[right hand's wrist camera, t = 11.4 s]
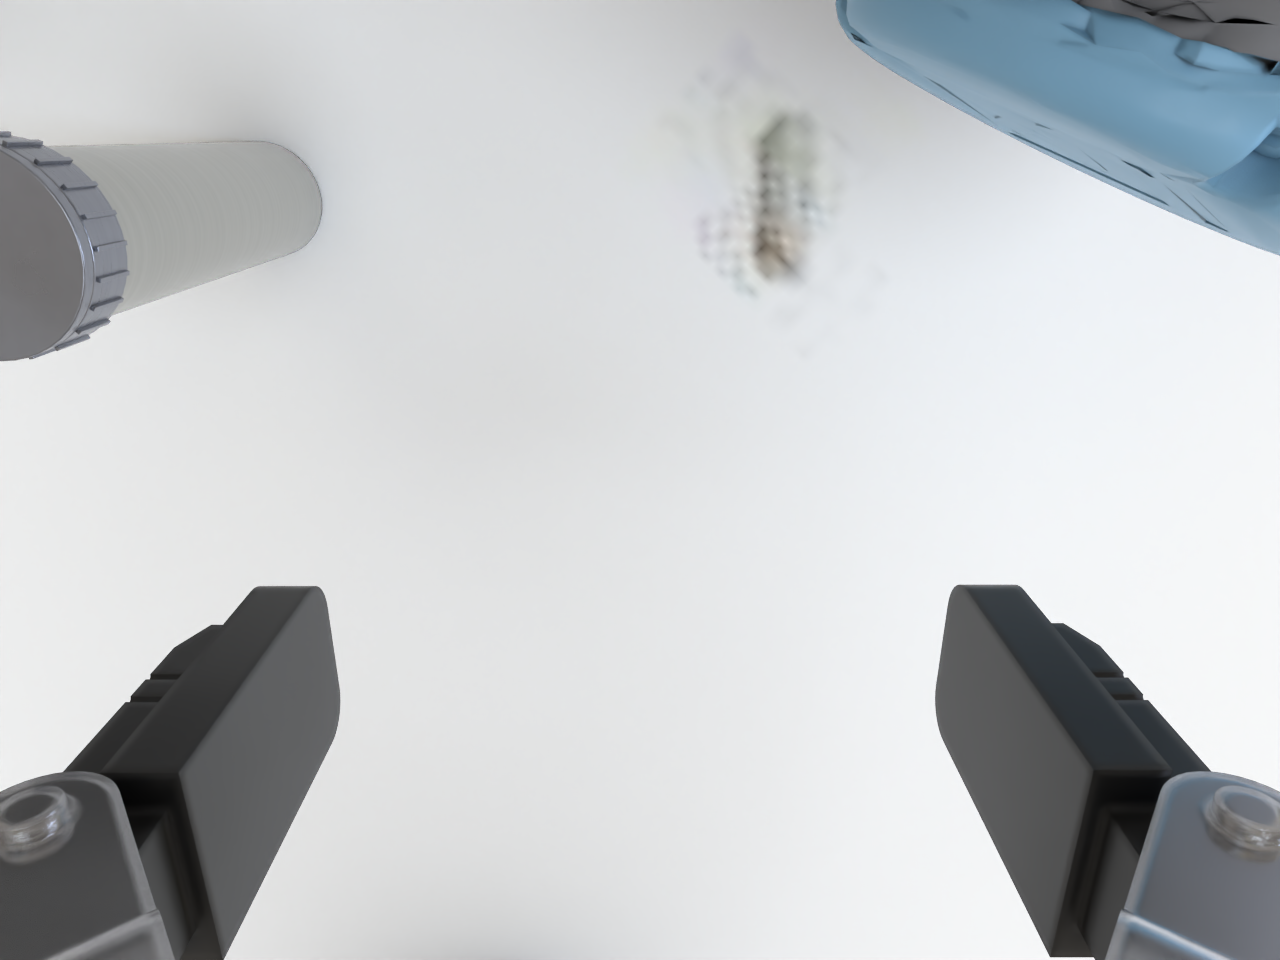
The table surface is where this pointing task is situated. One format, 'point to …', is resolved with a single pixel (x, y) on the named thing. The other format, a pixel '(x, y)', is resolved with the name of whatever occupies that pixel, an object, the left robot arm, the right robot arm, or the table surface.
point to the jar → (200, 209)
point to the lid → (54, 252)
